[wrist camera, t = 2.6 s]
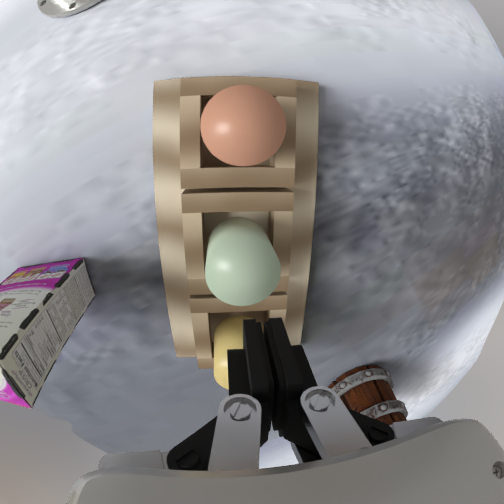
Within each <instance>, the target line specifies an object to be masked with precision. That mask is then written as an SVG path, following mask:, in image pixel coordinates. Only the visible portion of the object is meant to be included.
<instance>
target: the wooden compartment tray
mask: <svg viewBox="0 0 504 504" xmlns="http://www.w3.org/2000/svg"><path fill="white" fill-rule="evenodd" d="M236 85H251V86H256V87H259V88H261V89H263V90H265V91H267V92H268V93H270V94H271V95H272V96H273V97H275V99H276V100H277V101H278V102H279V104H280V105H281V107H282V109H283V111H284V114H285V118H286V133H285V137H284V140H283V142H282V144H281V146H280V148H279V149H278V150H277V151H276V153H275V154H274V155H272V156H271V157H270V158H269V159H267V160H265V161H264V162H261V163H259V164H256V165H252V166H235V165H231V164H228V163H225V162H223V161H221V160H220V159H218V158H217V157H215V156H214V155H213V154H212V153H211V152H210V151H209V149H208V148H207V147H206V145H205V143H204V141H203V138H202V135H201V129H200V123H201V116H202V113H203V110H204V108H205V106H206V105H207V103H208V102H209V100H210V99H211V98H212V97H213V96H214V95H216V94H217V93H218V92H220V91H221V90H223V89H226V88H228V87H231V86H236ZM318 114H319V84H318V83H317V82H309V81H301V80H293V79H282V78H269V77H245V76H215V77H191V78H180V79H169V80H159V81H154V92H153V166H154V188H155V204H156V217H157V228H158V238H159V248H160V257H161V265H162V273H163V280H164V287H165V294H166V300H167V307H168V313H169V319H170V324H171V330H172V335H173V340H174V345H175V350H176V355H177V357H197V361H198V367H199V369H206V368H214V332H215V329H216V327H217V326H218V325H219V324H220V323H221V322H222V321H223V320H225V319H227V318H229V317H232V316H239V315H240V316H249V317H252V318H254V319H256V320H257V321H258V322H261V325H262V326H263V328H264V322H266V321H268V319H269V318H279V317H281V318H282V320H283V323H284V326H285V329H286V331H287V334H288V337H289V340H290V343H291V345H300V342H301V335H302V327H303V320H304V312H305V305H306V296H307V288H308V279H309V269H310V259H311V249H312V238H313V225H314V212H315V197H316V179H317V156H318ZM232 217H245V218H249V219H251V220H254V221H255V222H257V223H258V224H259V225H260V226H261V227H262V228H263V229H264V231H265V233H266V235H267V237H268V239H269V241H270V243H271V245H272V247H273V249H274V251H275V253H276V255H277V257H278V259H279V262H280V266H281V275H280V279H279V282H278V285H277V286H276V288H275V290H274V291H273V292H272V293H271V294H270V295H269V296H268V297H267V298H266V299H264V300H262V301H261V302H258V303H256V304H253V305H248V306H235V305H230V304H227V303H225V302H223V301H221V300H220V299H218V298H217V297H216V296H215V295H214V294H213V293H212V292H211V291H210V289H209V287H208V285H207V283H206V279H205V266H206V257H207V248H208V241H209V237H210V235H211V232H212V231H213V229H214V228H215V227H216V226H217V225H218V224H219V223H221V222H222V221H224V220H226V219H229V218H232Z"/></svg>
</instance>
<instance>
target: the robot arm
mask: <svg viewBox="0 0 504 504" xmlns="http://www.w3.org/2000/svg"><path fill="white" fill-rule="evenodd" d="M99 1H101V0H38V2H37V4H38V8H39V10H40V11H41V12H42V13H43V14H45V15H46V16H49V17H52V18H62V17H67V16H70V15H73V14H76V13H79V12H81V11H83V10H85V9H87V8H89V7H91V6H93V5H94V4H96V3H98V2H99ZM227 362H228V384H229V397H227V398H225V399H224V400H223V401H222V402H221V404H220V406H219V411H218V416H216V417H215V418H214V419H212V420H211V421H210V422H208V423H207V424H206V425H204V426H203V427H202V428H200V429H199V430H198V431H196V432H195V433H194V434H192V435H191V436H189V437H188V438H187V439H185V440H184V441H182V442H181V443H179V444H178V445H176V446H175V447H174V448H173V449H171V450H170V451H166V452H161V451H160V450H155V451H143V452H125V453H110V454H106V455H105V456H103V457H102V458H101V460H100V461H99V467H98V468H99V470H96V471H93V472H89V473H87V474H84V475H83V476H81V477H80V478H79V479H78V480H77V481H76V482H75V484H74V486H73V487H72V490H71V492H70V494H69V497H68V500H67V503H66V504H504V451H503V449H502V448H501V446H500V445H499V443H498V442H497V440H496V439H495V438H494V436H493V435H492V434H491V433H490V432H489V430H488V429H487V428H486V427H485V426H484V425H483V424H481V423H480V422H478V421H476V420H473V419H455V420H448V421H444V422H443V421H441V420H440V419H439V418H436V417H428V418H422V419H415V420H409V421H401V422H393V424H392V425H388V424H386V423H384V422H382V421H379V420H376V419H374V418H371V417H369V416H366V415H363V414H361V413H358V412H356V411H353V410H351V409H349V408H346V406H345V405H344V403H343V402H342V400H341V399H340V397H339V396H338V395H337V393H336V392H335V391H333V390H332V389H330V388H327V387H322V386H317V383H316V381H315V378H314V375H313V373H312V370H311V368H310V365H309V362H308V360H307V357H306V355H305V352H304V349H303V347H302V345H291V343H290V340H289V337H288V334H287V331H286V329H285V326H284V323H283V320H282V318H281V317H279V318H269V319H268V321H266V322H264V332H263V330H262V326H261V322H256V319H243V349H227ZM271 420H272V425H273V430H274V431H275V430H278V432H279V436H280V437H282V436H284V438H285V439H286V440H288V441H290V442H291V446H292V449H293V451H294V453H295V456H296V458H297V460H298V462H299V464H295V465H288V466H281V467H272V468H263V469H259V452H260V447H261V446H262V445H263V444H264V443H265V442H266V441H267V440H268V433H269V431H270V427H271Z"/></svg>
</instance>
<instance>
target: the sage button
mask: <svg viewBox="0 0 504 504" xmlns="http://www.w3.org/2000/svg"><path fill="white" fill-rule="evenodd" d="M280 275H281V266H280V262H279V259H278V257H277V255H276V253H275V251H274V249H273V247H272V245H271V243H270V241H269V239H268V237H267V235H266V233H265V231H264V229H263V228H262V227H261V226H260V225H259V224H258V223H257V222H255V221H254V220H251V219H249V218H245V217H232V218H229V219H226V220H224V221H222V222H221V223H219V224H218V225H217V226H216V227H215V228H214V229H213V231H212V232H211V235H210V237H209V241H208V248H207V257H206V266H205V279H206V283H207V285H208V287H209V289H210V291H211V292H212V293H213V294H214V295H215V296H216V297H217V298H218V299H220V300H221V301H223V302H225V303H227V304H230V305H235V306H248V305H253V304H256V303H258V302H261V301H262V300H264V299H266V298H267V297H268V296H269V295H270V294H271V293H272V292H273V291H274V290H275V288H276V286H277V285H278V282H279V279H280Z"/></svg>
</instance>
